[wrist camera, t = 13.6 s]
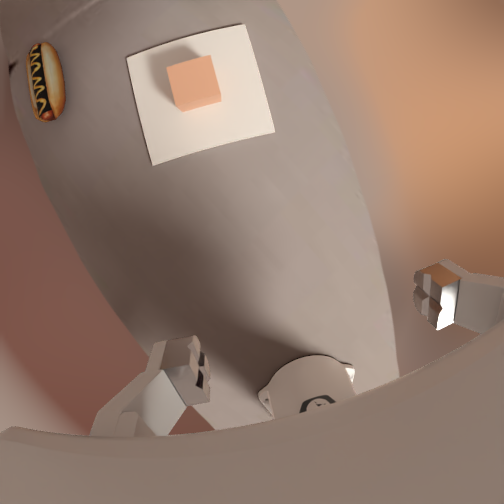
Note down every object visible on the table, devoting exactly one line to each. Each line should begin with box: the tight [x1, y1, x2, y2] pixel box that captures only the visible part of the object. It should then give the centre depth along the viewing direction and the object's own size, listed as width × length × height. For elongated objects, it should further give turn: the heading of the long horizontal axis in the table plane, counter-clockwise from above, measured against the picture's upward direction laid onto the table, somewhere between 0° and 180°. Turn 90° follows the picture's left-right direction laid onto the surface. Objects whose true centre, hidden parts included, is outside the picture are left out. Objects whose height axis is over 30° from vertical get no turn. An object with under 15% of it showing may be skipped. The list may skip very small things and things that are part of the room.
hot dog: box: [26, 42, 66, 122], centre depth 26 cm, size 5×13×5 cm, turn 17°
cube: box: [166, 55, 222, 112], centre depth 29 cm, size 5×5×5 cm
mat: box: [127, 24, 275, 166], centre depth 31 cm, size 16×16×1 cm
